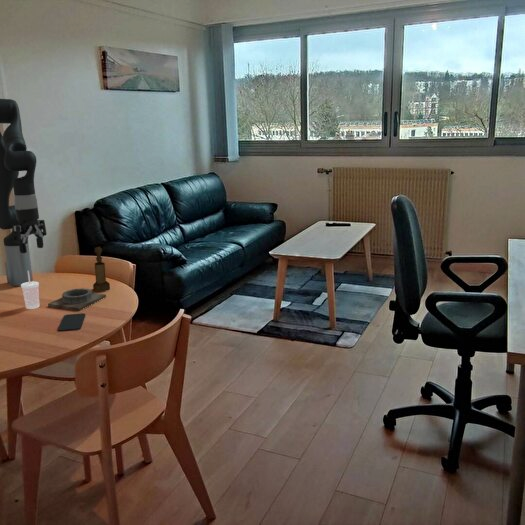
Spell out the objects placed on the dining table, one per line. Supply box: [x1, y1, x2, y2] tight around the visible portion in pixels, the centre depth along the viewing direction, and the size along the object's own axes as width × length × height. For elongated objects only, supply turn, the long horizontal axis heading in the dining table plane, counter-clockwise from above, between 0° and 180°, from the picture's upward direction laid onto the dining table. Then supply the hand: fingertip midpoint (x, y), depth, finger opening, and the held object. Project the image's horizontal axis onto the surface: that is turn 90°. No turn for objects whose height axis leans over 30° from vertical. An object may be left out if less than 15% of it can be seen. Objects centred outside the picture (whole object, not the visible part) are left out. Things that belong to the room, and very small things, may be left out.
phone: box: [57, 313, 86, 332], centre depth 180 cm, size 7×1×15 cm
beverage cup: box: [20, 271, 40, 310], centre depth 193 cm, size 6×6×14 cm
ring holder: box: [47, 288, 107, 312], centre depth 199 cm, size 14×16×4 cm
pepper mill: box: [92, 246, 111, 293], centre depth 212 cm, size 7×6×18 cm
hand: (32, 250), depth 194 cm, fingers open, 8 cm apart
